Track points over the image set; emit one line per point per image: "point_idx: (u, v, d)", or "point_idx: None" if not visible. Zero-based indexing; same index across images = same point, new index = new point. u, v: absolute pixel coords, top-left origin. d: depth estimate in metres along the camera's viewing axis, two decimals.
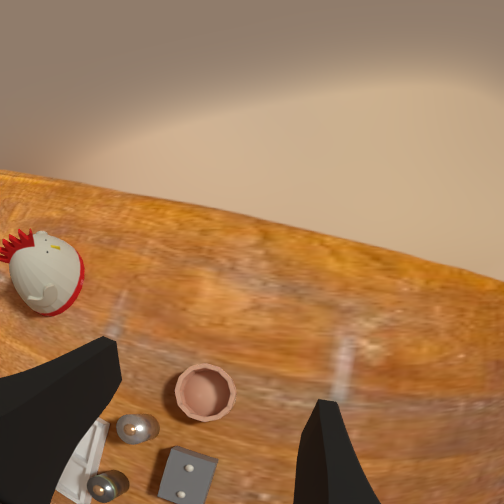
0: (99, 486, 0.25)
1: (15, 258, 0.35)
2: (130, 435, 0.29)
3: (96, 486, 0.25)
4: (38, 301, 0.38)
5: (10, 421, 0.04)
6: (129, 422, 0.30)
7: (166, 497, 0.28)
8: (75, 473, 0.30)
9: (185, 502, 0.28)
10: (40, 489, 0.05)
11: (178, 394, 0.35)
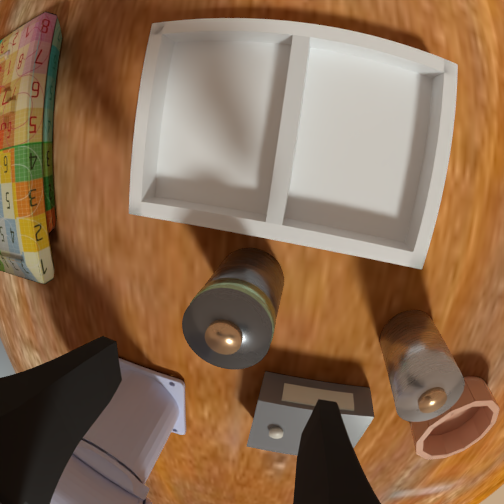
0: None
1: None
2: (418, 405, 0.12)
3: (235, 336, 0.12)
4: None
5: (10, 421, 0.04)
6: (447, 392, 0.12)
7: (260, 412, 0.18)
8: (222, 162, 0.16)
9: (259, 433, 0.19)
10: (40, 489, 0.05)
11: (467, 407, 0.15)
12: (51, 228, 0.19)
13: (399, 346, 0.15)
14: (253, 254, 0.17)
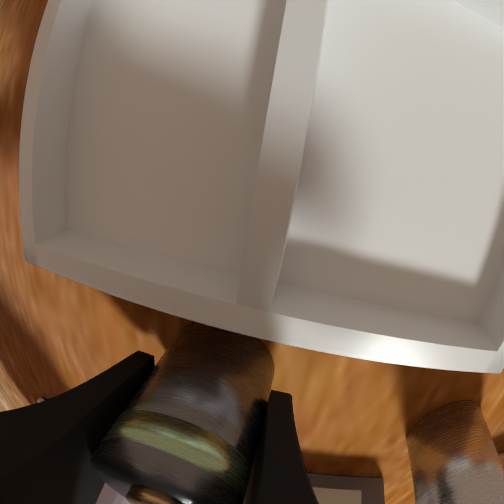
0: None
1: None
2: None
3: None
4: None
5: (53, 454, 0.04)
6: None
7: None
8: (161, 172, 0.08)
9: None
10: None
11: None
12: None
13: (438, 466, 0.07)
14: (219, 339, 0.09)
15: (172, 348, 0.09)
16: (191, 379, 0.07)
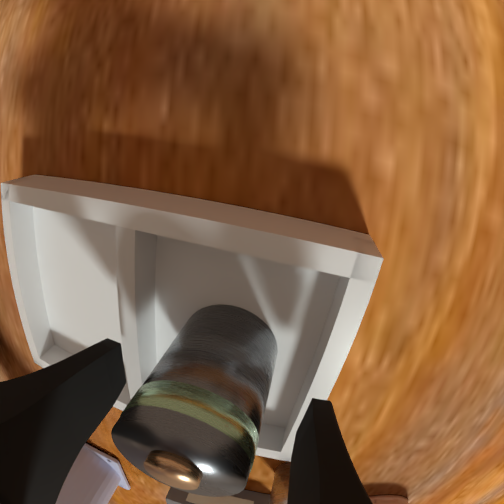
0: (197, 472, 0.06)
1: None
2: None
3: (189, 478, 0.06)
4: None
5: (15, 425, 0.04)
6: None
7: (170, 503, 0.17)
8: (95, 335, 0.14)
9: None
10: (45, 492, 0.05)
11: None
12: None
13: (276, 499, 0.13)
14: (233, 321, 0.10)
15: (189, 328, 0.10)
16: (210, 354, 0.09)
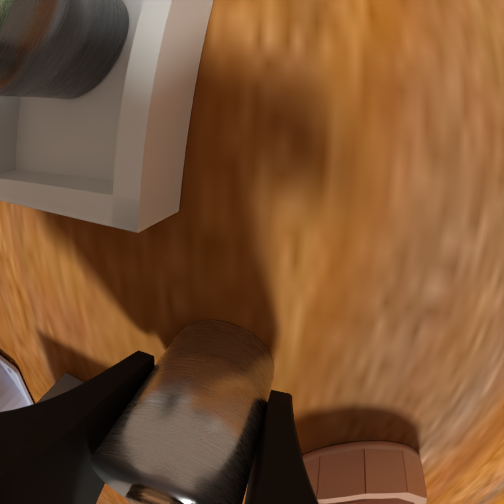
0: None
1: None
2: (132, 499, 0.05)
3: None
4: None
5: (53, 454, 0.04)
6: None
7: None
8: None
9: None
10: None
11: (351, 499, 0.09)
12: None
13: (143, 383, 0.08)
14: None
15: None
16: None
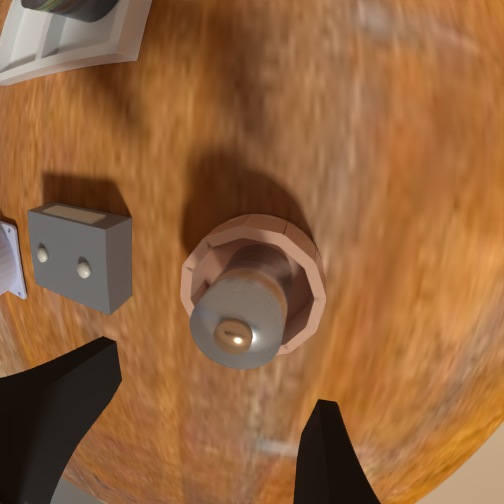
0: None
1: None
2: (215, 340, 0.12)
3: None
4: None
5: (10, 421, 0.04)
6: (255, 330, 0.12)
7: (31, 227, 0.17)
8: (35, 42, 0.15)
9: (36, 259, 0.18)
10: (40, 489, 0.05)
11: (232, 236, 0.15)
12: None
13: None
14: None
15: None
16: None
